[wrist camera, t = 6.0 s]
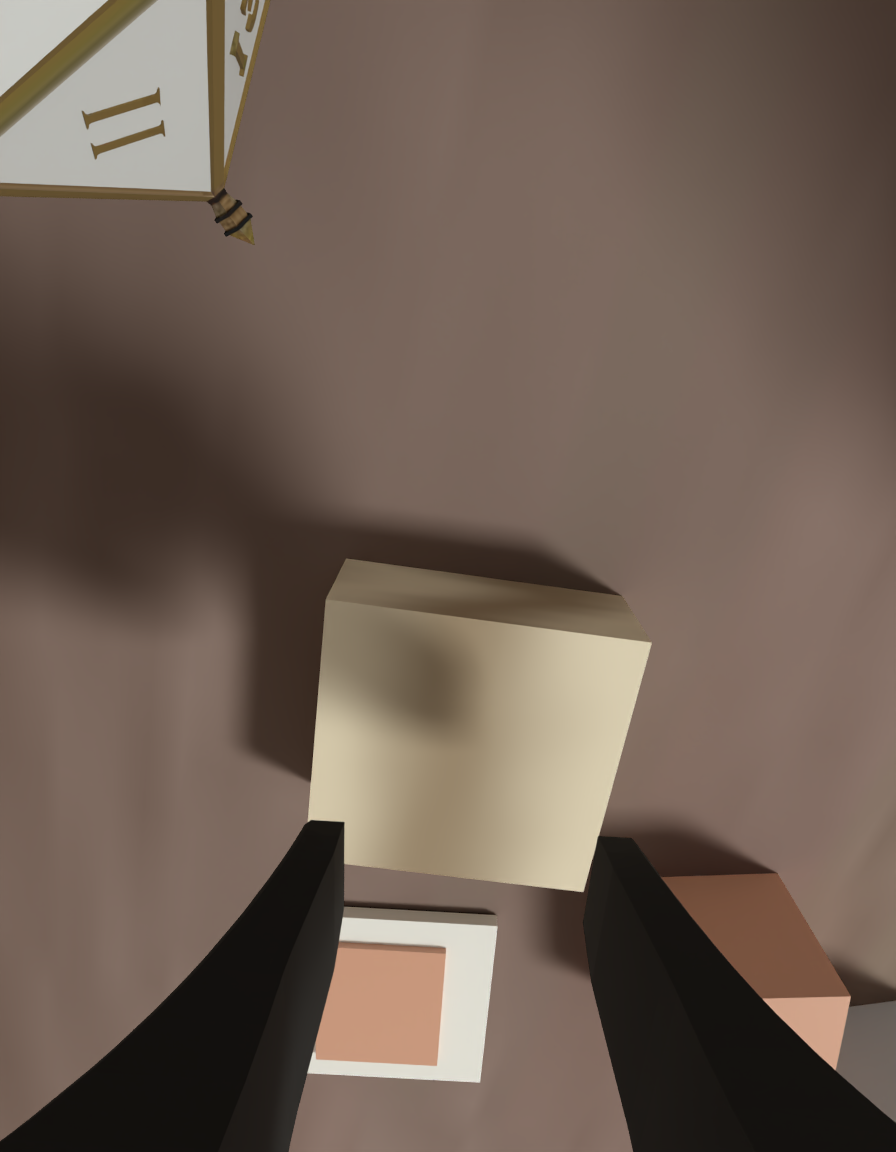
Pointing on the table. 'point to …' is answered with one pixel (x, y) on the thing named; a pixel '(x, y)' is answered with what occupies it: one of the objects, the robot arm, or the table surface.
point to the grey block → (871, 1053)
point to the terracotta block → (771, 951)
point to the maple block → (471, 722)
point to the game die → (126, 99)
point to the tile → (408, 996)
